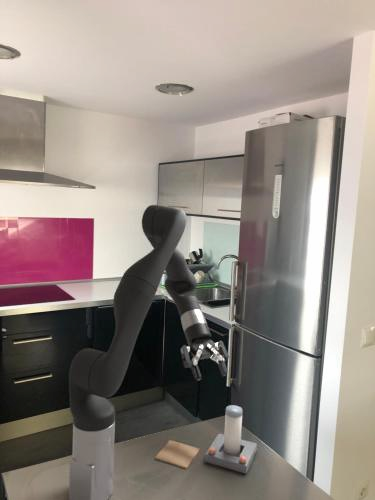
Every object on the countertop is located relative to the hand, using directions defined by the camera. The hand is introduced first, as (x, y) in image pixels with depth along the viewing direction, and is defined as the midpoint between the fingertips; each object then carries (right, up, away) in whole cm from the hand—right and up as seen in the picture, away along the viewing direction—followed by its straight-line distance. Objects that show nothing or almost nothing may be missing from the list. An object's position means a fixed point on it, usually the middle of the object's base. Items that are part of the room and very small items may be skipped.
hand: (212, 377), depth 117 cm
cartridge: (+5, -18, -9) cm, 21 cm away
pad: (-10, -18, -9) cm, 23 cm away
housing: (+4, -19, -9) cm, 21 cm away
